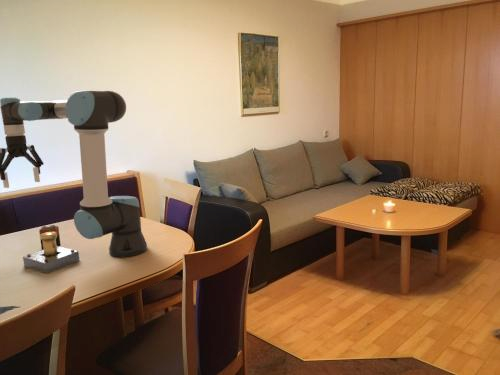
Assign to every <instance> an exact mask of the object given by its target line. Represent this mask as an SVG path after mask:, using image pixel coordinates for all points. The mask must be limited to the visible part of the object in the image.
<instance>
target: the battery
mask: <svg viewBox="0 0 500 375" xmlns="http://www.w3.org/2000/svg"><path fill="white" fill-rule="evenodd" d="M38 232H39V236H40V235H41V234H43V233H46V232H56V233H57V238H56V245H57V246H59V247H62V246H61V239H60V238H61V237H60V228H59V226H58V225H56V224H52V225H49V226H46V225H44V226H41V228H40V229H39V230H38ZM39 239H40V238H39ZM40 247H41V251H42V250H44V249H43V241H42V240H41V239H40Z"/></svg>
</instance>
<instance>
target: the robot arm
mask: <svg viewBox="0 0 500 375" xmlns="http://www.w3.org/2000/svg"><path fill="white" fill-rule="evenodd" d="M126 112H127V104H126V101H125V99H124V97H123V96H121V94H120V93H118V92H115V91H112V90H87V89H86V90H80V91H79V90H78V91H74V92H73V93H71V94H70V95H69V97H68V98H67V99H63V100H52V101H51V100H50V101H49V100H48V101H42V100H41V101H39V100H38V101H31V100H29V101H21V99H20V98H19V97H1V98H0V113H1V117H2V124H3V130H4V135H5V144H6V148H4V147H0V180H1V181H2V183H3V188H5V189H9V188H10V182H9V177H8V172H7V171H6V170H7V169H8V167H9V165H11V162H12V161H13V160H14V159H17V158H25V159H26V160H27V161H28V162H29V163H31V164H32V165H33V167H32V171H33V177H34V183H41V179H40V175H41V167H42V166H44V161H43V160H42V158H41V157H40V155H39V154H38V152H37V151H36V148H35V146H34V145H33V144H28V145H27V138H26V131H25V130H26V129H25V123H24V121H27V122H31V121H32V122H33V121H39V120H41V121H42V120H62V119H63V120H64V119H67V121H68V123H70V124H71V125H73V130H74V131H76V133H77V134H78V135H79V136H78V137H79V138H78V139H79V151H80V163H81V176H82V177H81V178H82V180H81V181H82V192H83V199H82V200H81V201H79V210H77V211H76V212H75V213H74V215H73V222H74V226H75V228H76V230H77V232H78V233H79V235H81V237H83V238H85V239H87V240H94V239H98V238H101V237H104V236H107V235H108V234H111V239H110V244H109V246H108V252H109V253H108V254H109V255H110V256H112V257H116V258H129V257H135V256H139V255H142V254H144V253H145V252H147V250H148V244H147V241H146V239H145V237H144V235H143V231H142V223H141V222H142V221H141V209H140V207H141V206H140V202H139V199H138V197H136V196H130V195H114V196H113V195H112V196H109V193H108V192H109V190H108V189H109V188H108V173H107V157H106V155H107V154H106V140H105V138H106V136H105V133H106V132H107V131H108V130H109V123H116V122H118V121H120V120H121V119H122V118H124V116H125V114H126ZM28 151H29V152H30V153H29V152H28ZM7 153H8V154H7ZM6 154H7V155H6ZM5 157H6V158H5Z"/></svg>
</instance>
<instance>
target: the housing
mask: <svg viewBox="0 0 500 375" xmlns="http://www.w3.org/2000/svg"><path fill="white" fill-rule="evenodd" d="M57 253H58V254H57V255H54V256H52V257H45V256H44V250H42V249H41V250H39V251H37V252H34V253H29V254H27V255H24V256H22V259H23V260H22V261H23V266H24V268H27V269H30V270H33V271H37V272H40V273H44V274H49V273H52V272H54V271H57V270H59V269H63V268H65V267H67V266H70V265H73V264H75V263H77V262H80V255H79V251H78V250H74V249H71V248H68V247H67V248H66V247H63V246H60V247H59V246H57Z"/></svg>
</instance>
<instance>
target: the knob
mask: <svg viewBox="0 0 500 375" xmlns="http://www.w3.org/2000/svg"><path fill="white" fill-rule="evenodd" d="M56 238H57V233H56V232H46V233H43V234H41V235H40V234H39V239H41V240H42V241H43V249H44V256H45V257H52V256H54V255H57V254H58V253H57V245H56ZM41 240H40V241H41Z"/></svg>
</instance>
